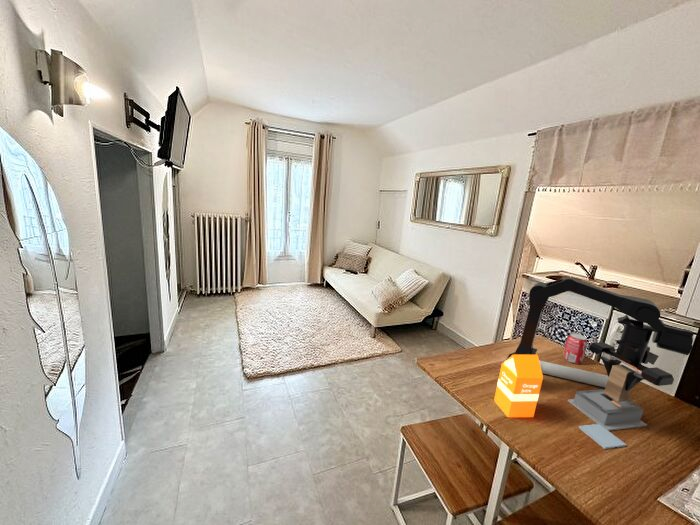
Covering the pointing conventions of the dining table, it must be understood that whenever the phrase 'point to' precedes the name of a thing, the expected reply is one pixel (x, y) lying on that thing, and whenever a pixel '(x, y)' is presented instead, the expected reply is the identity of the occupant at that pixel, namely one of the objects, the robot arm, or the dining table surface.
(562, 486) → the dining table surface
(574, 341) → the soda can
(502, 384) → the orange juice
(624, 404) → the grey hollow block
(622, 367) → the light wood cuboid
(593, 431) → the mat
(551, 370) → the tube
